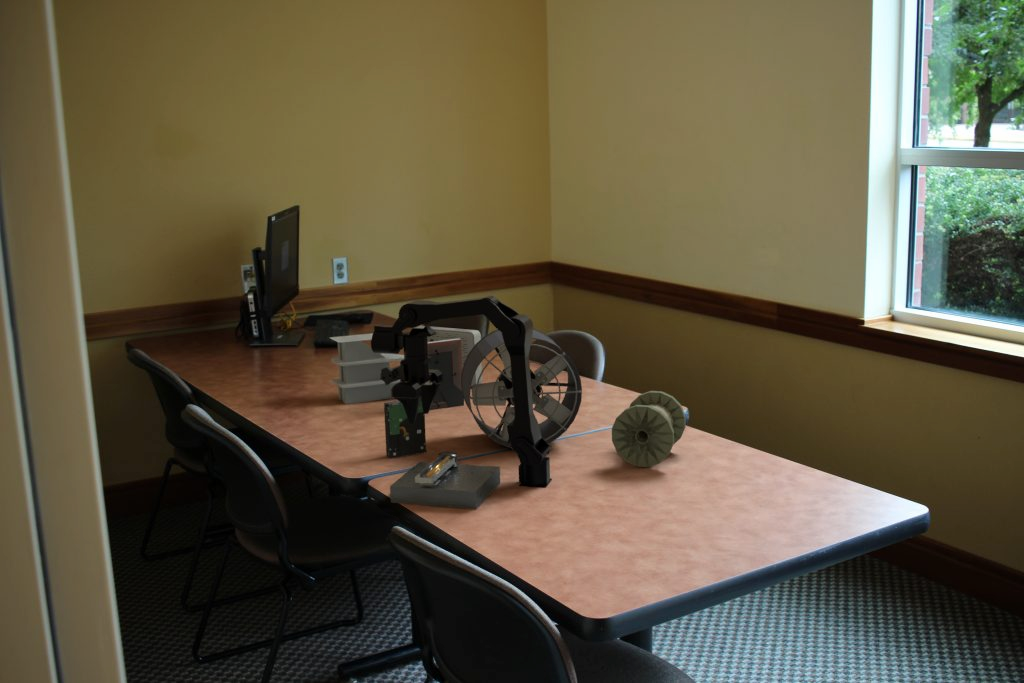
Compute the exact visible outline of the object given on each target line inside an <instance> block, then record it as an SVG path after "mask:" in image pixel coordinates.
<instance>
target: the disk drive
mask: <svg viewBox="0 0 1024 683" xmlns="http://www.w3.org/2000/svg"><path fill="white" fill-rule="evenodd" d="M383 404H384V405H383V408H384V409H383V411H384V412H383V413H384V414H383V415H384V429H385V432H384V433H385V449H386V450H385V451H386V457H387V458H389V459H396V458H401V456H402V457H407V455H408V456H411V454H412V455H415V454H416V453H420V454H424V452H426V453H427V440H426V439H427V438H426V416H425V415H426V414H424V412H423V407H422V402H421V401H420V405H419V409H418V412H417V416H416V420H415V423H414V424H410V423H409V420H408V417H407V415H406V412H405V409H404V407H403V405H402V403H401V402H400V401H398V400H393V401H386V402H383Z"/></svg>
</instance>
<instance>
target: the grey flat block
mask: <svg viewBox="0 0 1024 683" xmlns="http://www.w3.org/2000/svg"><path fill="white" fill-rule="evenodd" d="M431 463H432V462H427V461H426V462H425V461H419V462H418V463H417V464H415V465H413V467H412V468H410V469H409V470H408V471H406V472H405V473H404V474H403V475H402V476H401V477H399V478H398V479H397V480H396V481H394V482H393V483H391V484H390V486H389V491H390V503H393V504H402V505H404V504H405V505H414V506H425V507H437V508H438V507H439V508H440V507H441V508H453V509H469V510H470V509H471V510H477V509H478V508H479V507H480V506H481V505H482V504H483V503H484V502H485V500H487V498H488V497H489V496H490V495H491V494H492V493H493V492H494V491H495V490H496V489H497V487H498V486H499V485H500V484H501V467H500V466H496V465H494V466H493V465H477V464H462V463H461V464H460V463H458V465H457V466H456V467H452V468H449V469H448V470H447V471H446V472H444V473H443V474H442V475H441V476H440V477H439V478H438V479H437V480H436V481H434V482H433V483H432V484H431V483H416V482H415V477H416V476H417V475H418V474H419V473H420V472H422V471H423V470H424V469H425V468H426V467H427V466H429V465H430V464H431Z"/></svg>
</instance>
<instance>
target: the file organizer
mask: <svg viewBox="0 0 1024 683" xmlns="http://www.w3.org/2000/svg"><path fill="white" fill-rule="evenodd" d="M372 335H373V332H372V333H363V334H352V335H351V334H350V335H341V336H332V337H329V339H331V340H332V341H335V342H337V353H338V357H333V358H330V362H332V363H333V364H335V365H337V366H338V370H339V378H336V379H335V378H334V379H331V383H333V384H334V385H336V387H337V388H338V400H340V401H342V402H343V403H344V404H345V405H349V404H357V403H358V404H359V403H365V402H374V401H381V400H389V399H394V397H391V388H392V387H393V386H394V385H395V384H397V383H399V382H400V380H397V381H394V382H391V383H390V384H388V385H385V382H384V381H383V380H380V377H381V375H380V374H381V369H383V368H386V367H388V366H389V367H390V362H400V361H401V360H403V359H404V354H399V353H398V354H382V353H374V352H373V351H372V348H371V347H370V346H369V345H368V344H367V343H365V342H363V341H371V340H372Z"/></svg>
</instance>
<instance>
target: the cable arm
mask: <svg viewBox="0 0 1024 683" xmlns="http://www.w3.org/2000/svg"><path fill="white" fill-rule="evenodd" d="M430 463H431V464H430V465H429V466H427V467H426V468H425V469H424V470H423V471H422V472H420V473H419V474H418V475H417V476H416V477H415V482H416V483H431V484H432V483H433V482H434V481H436V480H437V479H438V478H439V477H440V476H441V475H442V474H443V473H444V472H446V471H447V470H448V469H449V468H452V467H456V466H457V465H458V464H459V463H458V453H457V452H456V451H450V450H449V451H448V450H447V451H441V452H439V453H438V457H437V458H435V459H434V460H433V461H432V462H430Z"/></svg>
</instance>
